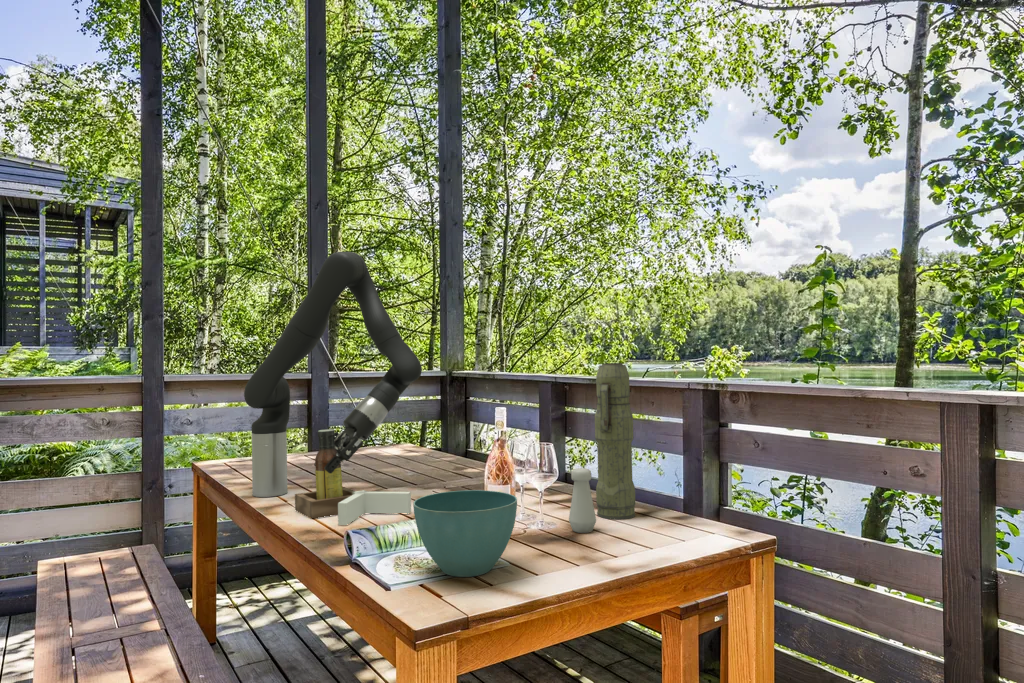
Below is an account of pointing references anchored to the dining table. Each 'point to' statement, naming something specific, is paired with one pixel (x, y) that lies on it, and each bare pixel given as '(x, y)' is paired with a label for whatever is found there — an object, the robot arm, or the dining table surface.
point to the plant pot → (465, 529)
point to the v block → (372, 504)
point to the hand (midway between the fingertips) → (322, 469)
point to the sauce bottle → (325, 482)
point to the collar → (319, 504)
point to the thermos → (614, 443)
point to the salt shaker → (582, 502)
